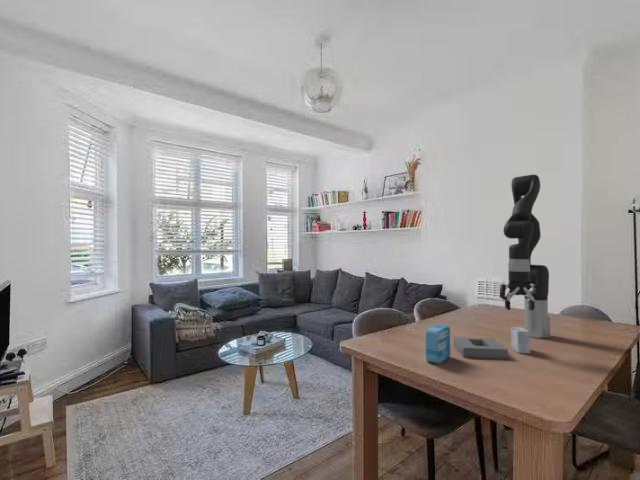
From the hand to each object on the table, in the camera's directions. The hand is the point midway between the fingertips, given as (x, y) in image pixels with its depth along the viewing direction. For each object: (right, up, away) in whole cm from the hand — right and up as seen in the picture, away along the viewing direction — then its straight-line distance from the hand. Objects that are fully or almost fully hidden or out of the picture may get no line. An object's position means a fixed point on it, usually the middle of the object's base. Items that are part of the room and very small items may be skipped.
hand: (519, 309), depth 136 cm
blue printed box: (-37, -17, -10) cm, 42 cm away
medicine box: (0, -17, 0) cm, 17 cm away
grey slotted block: (-17, -17, -1) cm, 24 cm away
